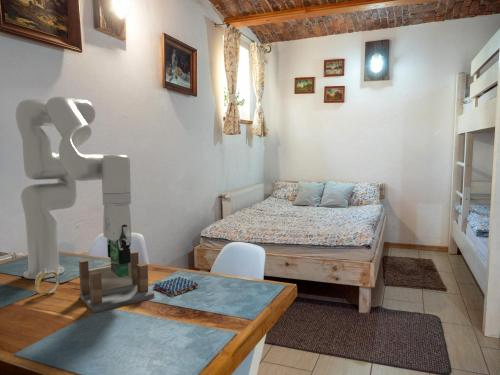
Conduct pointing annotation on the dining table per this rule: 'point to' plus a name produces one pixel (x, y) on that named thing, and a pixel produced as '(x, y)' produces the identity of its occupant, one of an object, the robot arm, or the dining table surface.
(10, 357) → the dining table surface
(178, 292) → the woven mat
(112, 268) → the coffee box
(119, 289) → the wooden block stand
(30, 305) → the dining table surface
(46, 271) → the bracelet
